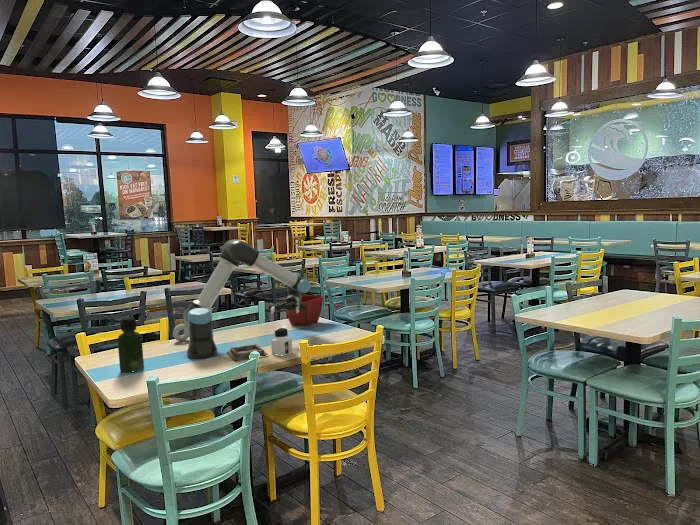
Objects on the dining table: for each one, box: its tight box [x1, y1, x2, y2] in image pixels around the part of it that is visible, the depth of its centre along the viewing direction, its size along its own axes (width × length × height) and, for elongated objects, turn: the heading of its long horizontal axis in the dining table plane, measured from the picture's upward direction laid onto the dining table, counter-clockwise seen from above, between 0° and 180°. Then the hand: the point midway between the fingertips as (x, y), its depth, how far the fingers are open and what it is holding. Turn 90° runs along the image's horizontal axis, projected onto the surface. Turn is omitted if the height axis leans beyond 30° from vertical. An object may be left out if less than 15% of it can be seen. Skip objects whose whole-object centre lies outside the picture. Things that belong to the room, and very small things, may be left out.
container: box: [270, 327, 293, 356], centre depth 260 cm, size 8×8×13 cm
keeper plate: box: [226, 343, 269, 362], centre depth 260 cm, size 17×17×3 cm
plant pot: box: [282, 293, 324, 327], centre depth 324 cm, size 19×19×17 cm
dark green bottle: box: [117, 316, 145, 373], centre depth 241 cm, size 10×10×25 cm
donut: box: [172, 323, 190, 342], centre depth 292 cm, size 10×3×10 cm, turn 126°
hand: (284, 310), depth 268 cm, fingers open, 13 cm apart
